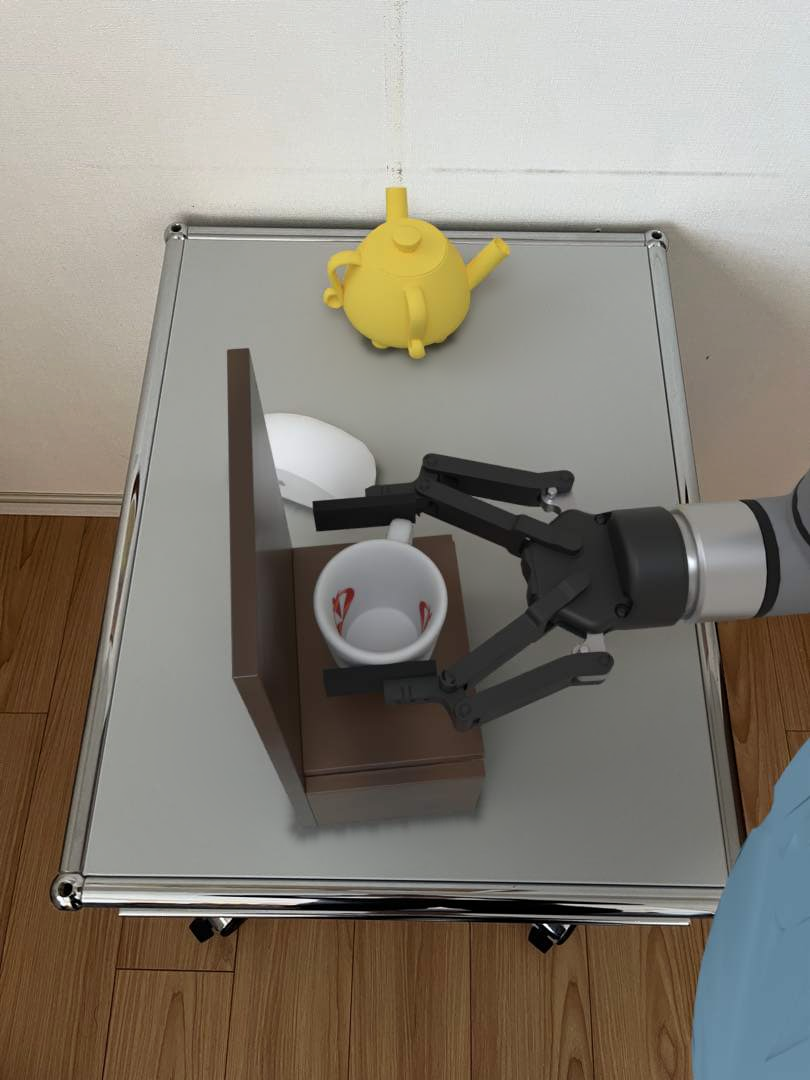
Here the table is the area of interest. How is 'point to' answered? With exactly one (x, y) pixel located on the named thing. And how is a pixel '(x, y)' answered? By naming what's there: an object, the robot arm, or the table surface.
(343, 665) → the cup
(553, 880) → the table surface
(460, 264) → the teapot
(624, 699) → the table surface
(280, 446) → the computer mouse
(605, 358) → the table surface
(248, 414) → the wooden chair
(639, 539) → the robot arm
